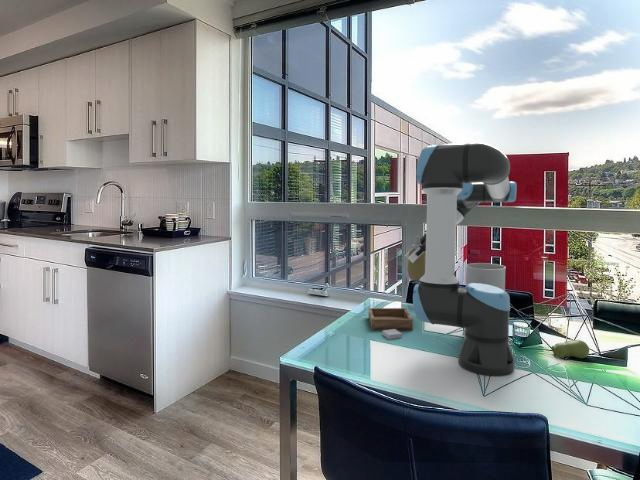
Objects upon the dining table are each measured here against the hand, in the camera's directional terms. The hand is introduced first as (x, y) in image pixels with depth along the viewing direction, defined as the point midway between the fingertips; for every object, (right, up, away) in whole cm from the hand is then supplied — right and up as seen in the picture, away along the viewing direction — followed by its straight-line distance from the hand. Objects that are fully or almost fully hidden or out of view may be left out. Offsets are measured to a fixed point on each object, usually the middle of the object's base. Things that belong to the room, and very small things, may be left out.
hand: (408, 259), depth 166 cm
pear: (+40, -28, -43) cm, 65 cm away
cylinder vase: (+21, -26, -25) cm, 42 cm away
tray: (-10, -25, -10) cm, 28 cm away
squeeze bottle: (+4, -9, +1) cm, 9 cm away
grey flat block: (-11, -27, -24) cm, 37 cm away
